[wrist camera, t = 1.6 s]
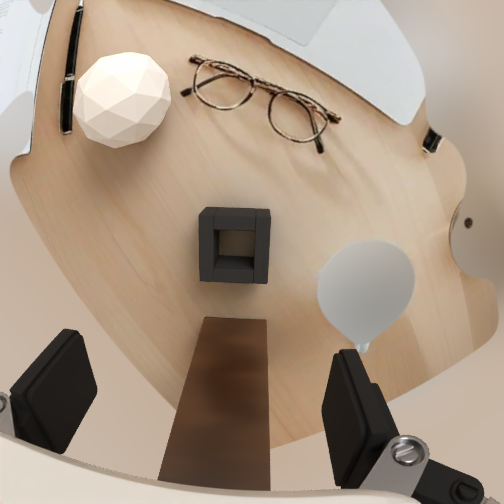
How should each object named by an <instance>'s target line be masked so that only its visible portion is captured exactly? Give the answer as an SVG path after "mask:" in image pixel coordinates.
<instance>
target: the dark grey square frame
mask: <svg viewBox="0 0 504 504" xmlns="http://www.w3.org/2000/svg"><path fill="white" fill-rule="evenodd" d="M270 226H271V216H270V210H269V209H254V208H224V207H206V208H205V209H204V210H203V211H202V212H201V213H200V214H199V269H200V281H208V282H229V283H252V284H253V283H257V284H267V283H268V265H269V246H270ZM219 230H242V231H255V249H254V257H247V256H222V255H219Z"/></svg>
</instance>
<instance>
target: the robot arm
mask: <svg viewBox="0 0 504 504" xmlns="http://www.w3.org/2000/svg"><path fill="white" fill-rule="evenodd" d="M10 392H11V395H10V397H8V395H7V394H5V393H3V392H0V504H500V503H499V502H497V501H496V500H495V499H493V498H492V497H490V498H489V499H487V498H486V497H484V488H483V486H482V484H481V483H480V482H479V481H478V479H476V478H474V477H472V476H470V475H467V474H465V473H462V472H460V471H457V470H455V469H452V468H450V467H448V466H445V465H443V464H440V463H438V462H436V461H434V460H431V459H429V455H430V453H429V448H428V447H427V445H426V443H424V442H423V441H422V440H421V439H419V438H417V437H415V436H411V435H401V436H400V434H399V432H398V430H397V427H396V425H395V423H394V420H393V418H392V415H391V413H390V411H389V408H388V406H387V404H386V401H385V399H384V397H383V394H382V392H381V390H380V388H379V386H378V384H376V383H371V382H370V380H369V377H368V375H367V373H366V370H365V368H364V366H363V363H362V361H361V359H360V356H359V354H358V352H357V350H356V349H341V350H340V351H339V353H336V354H334V356H333V361H332V365H331V370H330V374H329V379H328V383H327V387H326V392H325V396H324V400H323V404H322V418H323V423H324V428H325V433H326V438H327V443H328V447H329V453H330V459H331V464H332V469H333V474H334V480H335V484H336V486H341V489H336V490H335V489H333V490H310V491H250V490H231V489H218V488H208V487H199V486H190V485H183V484H176V483H170V482H164V481H158V480H153V479H147V478H143V477H138V476H133V475H128V474H125V473H120V472H116V471H112V470H109V469H104V468H101V467H97V466H94V465H91V464H87V463H84V462H81V461H78V460H75V459H72V458H69V457H66V456H63V455H61V454H63V453H64V452H65V451H66V449H67V447H68V445H69V443H70V442H71V439H72V438H73V436H74V434H75V432H76V430H77V429H78V427H79V425H80V423H81V421H82V419H83V418H84V416H85V414H86V412H87V411H88V409H89V407H90V405H91V404H92V402H93V400H94V398H95V397H96V395H97V385H96V382H95V379H94V375H93V372H92V369H91V365H90V362H89V358H88V354H87V351H86V347H85V343H84V339H83V336H82V335H80V333H79V332H78V331H77V330H71V329H63V330H62V331H61V332H60V333H59V334H58V335H57V336H56V337H55V339H54V340H53V341H52V342H51V343H50V344H49V345H48V346H47V348H45V350H44V351H43V352H42V353H41V354H40V355H39V356H38V357H37V359H36V360H35V361H34V362H33V363H32V364H31V365H30V366H29V368H28V369H27V370H26V371H25V372H24V373H23V374H22V376H21V377H20V378H19V379H18V380H17V382H16V383H15V384H14V385H13V386H12V387H11V389H10Z"/></svg>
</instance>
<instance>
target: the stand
mask: <svg viewBox="0 0 504 504" xmlns="http://www.w3.org/2000/svg"><path fill="white" fill-rule="evenodd" d="M158 481H164V482H170V483H176V484H183V485H190V486H199V487H208V488H218V489H231V490H250V491H270V436H269V393H268V357H267V324H266V320H256V319H233V318H215V317H205V319H204V322H203V325H202V328H201V331H200V335H199V338H198V341H197V345H196V348H195V351H194V354H193V358H192V361H191V364H190V368H189V371H188V374H187V378H186V381H185V385H184V388H183V391H182V395H181V398H180V402H179V405H178V408H177V412H176V415H175V419H174V423H173V426H172V429H171V433H170V437H169V440H168V443H167V447H166V451H165V454H164V458H163V461H162V465H161V469H160V472H159V476H158Z"/></svg>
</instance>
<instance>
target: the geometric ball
mask: <svg viewBox="0 0 504 504" xmlns="http://www.w3.org/2000/svg"><path fill="white" fill-rule="evenodd" d="M171 102H172V101H171V95H170V89H169V83H168V76H167V74H166V73H165V72H164V71H163V70H162V69H161V68H160V67H159V66H158V65H157V64H156V63H155V62H154V61H153V59H152V58H151V57H150V56H147V55H143V54H138V53H133V52H127V53H121V54H116V55H111V56H106V57H102V58H100V59H99V60H98V61H97V62H96V63H95V64H94V65H93V66H92V67H91V68H90V69H89V70H88V71H87V72H86V73H85V74H84V75H83V76H82V77H81V78H80V79H79V80H78V83H77V89H76V95H75V101H74V108H73V113H74V115H75V117H76V119H77V120H78V122H79V124H80V126H81V127H82V129H83V131H84V133H85V135H86V136H87V138H88V139H91V140H94V141H96V142H99V143H102V144H104V145H107V146H109V147H112V148H115V149H116V148H119V147H123V146H126V145H130V144H133V143H137V142H141V141H144V140H145V139H146V138H147V137H148V136H149V135H150V134H151V133H152V132H153V131H154V130H155V129H156V128H157V127H158V126H159V125H160V123H161V122H162V120H163V119H164V117H165V115H166V112H167V110H168V108H169V106H170V104H171Z"/></svg>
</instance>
